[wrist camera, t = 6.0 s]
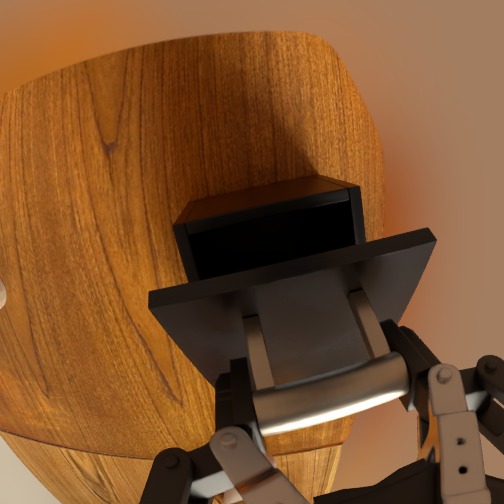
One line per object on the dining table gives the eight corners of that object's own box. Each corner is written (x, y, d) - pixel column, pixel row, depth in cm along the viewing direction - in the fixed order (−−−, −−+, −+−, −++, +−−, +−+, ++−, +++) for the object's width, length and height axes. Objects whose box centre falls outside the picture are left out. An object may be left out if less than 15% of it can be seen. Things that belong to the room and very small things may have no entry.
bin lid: (148, 290, 11) (151, 439, 7) (428, 226, 11) (496, 339, 8) (226, 393, 22) (237, 461, 18) (370, 357, 22) (392, 420, 18)
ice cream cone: (217, 487, 40) (258, 435, 39) (245, 507, 38) (292, 457, 37) (197, 503, 35) (239, 451, 34) (227, 525, 32) (277, 477, 31)
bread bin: (188, 202, 26) (171, 225, 18) (319, 174, 26) (360, 185, 18) (225, 334, 30) (226, 394, 22) (336, 308, 31) (369, 358, 22)
